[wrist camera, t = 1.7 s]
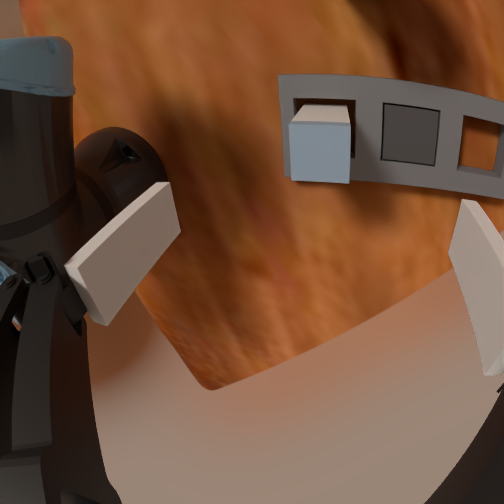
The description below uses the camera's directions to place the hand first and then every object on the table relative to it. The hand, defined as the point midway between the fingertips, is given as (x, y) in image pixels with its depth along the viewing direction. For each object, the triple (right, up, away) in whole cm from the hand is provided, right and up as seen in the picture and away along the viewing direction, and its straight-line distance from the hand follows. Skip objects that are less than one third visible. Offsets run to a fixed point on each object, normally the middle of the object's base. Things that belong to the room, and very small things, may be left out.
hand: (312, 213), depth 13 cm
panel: (+12, +10, +12) cm, 20 cm away
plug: (+5, +11, +14) cm, 18 cm away
